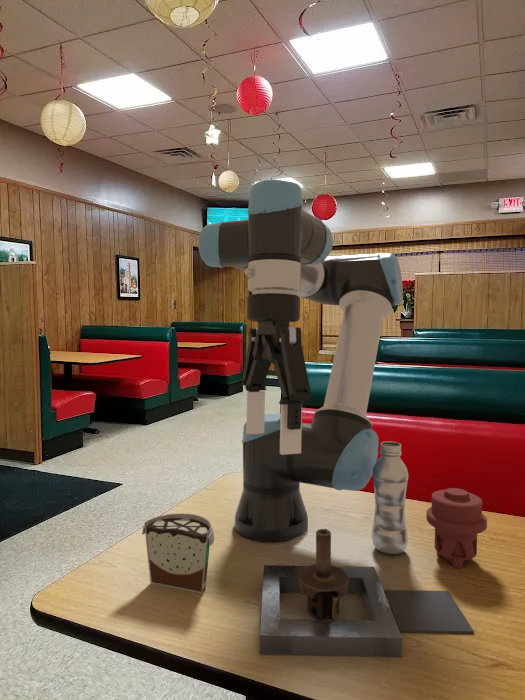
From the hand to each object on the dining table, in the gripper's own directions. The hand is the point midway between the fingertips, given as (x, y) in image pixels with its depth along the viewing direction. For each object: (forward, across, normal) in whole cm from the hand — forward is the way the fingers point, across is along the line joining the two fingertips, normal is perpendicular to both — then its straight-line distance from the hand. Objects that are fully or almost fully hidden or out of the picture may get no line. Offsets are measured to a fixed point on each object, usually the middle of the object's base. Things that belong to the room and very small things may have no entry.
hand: (271, 442), depth 70 cm
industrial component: (+25, +2, +8) cm, 27 cm away
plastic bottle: (+24, -11, +28) cm, 39 cm away
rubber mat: (+25, +7, +22) cm, 34 cm away
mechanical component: (+24, -4, +37) cm, 45 cm away
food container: (+25, -14, -9) cm, 30 cm away
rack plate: (+25, +2, +8) cm, 26 cm away
